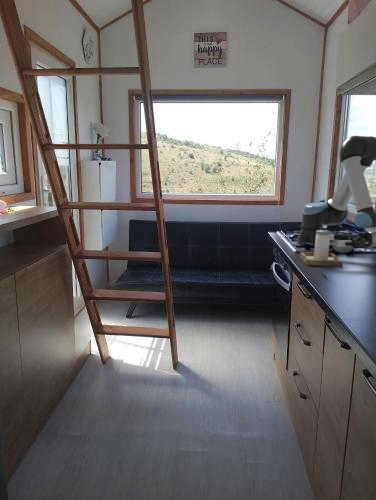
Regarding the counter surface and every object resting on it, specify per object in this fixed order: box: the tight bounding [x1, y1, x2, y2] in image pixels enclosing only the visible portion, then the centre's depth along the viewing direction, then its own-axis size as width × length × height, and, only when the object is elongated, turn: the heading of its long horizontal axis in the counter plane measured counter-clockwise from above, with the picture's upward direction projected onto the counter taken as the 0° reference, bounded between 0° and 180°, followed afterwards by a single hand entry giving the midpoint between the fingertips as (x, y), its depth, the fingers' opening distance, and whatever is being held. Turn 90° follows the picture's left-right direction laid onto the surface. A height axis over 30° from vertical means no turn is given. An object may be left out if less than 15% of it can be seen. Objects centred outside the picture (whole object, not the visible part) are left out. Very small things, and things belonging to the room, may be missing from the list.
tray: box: [299, 251, 344, 268], centre depth 189 cm, size 16×16×2 cm
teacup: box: [332, 239, 354, 254], centre depth 211 cm, size 14×11×8 cm
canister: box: [313, 229, 332, 261], centre depth 187 cm, size 7×7×14 cm
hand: (329, 240), depth 187 cm, fingers open, 13 cm apart
